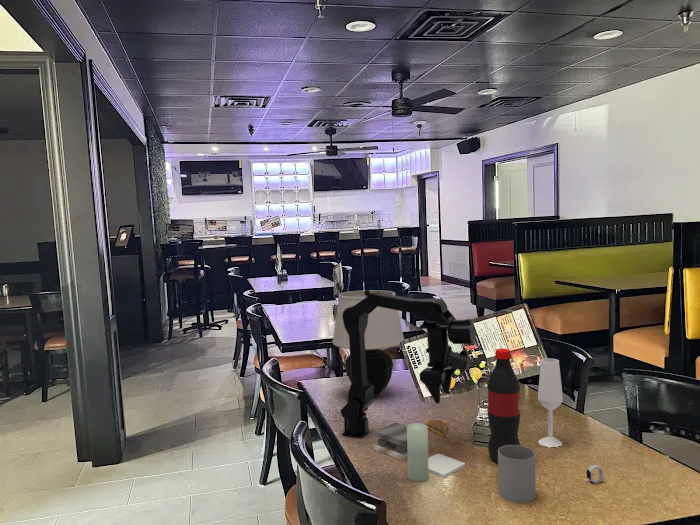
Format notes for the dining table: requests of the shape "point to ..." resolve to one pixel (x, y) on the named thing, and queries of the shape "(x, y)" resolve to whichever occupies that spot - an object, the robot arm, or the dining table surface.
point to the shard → (437, 426)
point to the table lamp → (371, 337)
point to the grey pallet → (392, 441)
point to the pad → (443, 465)
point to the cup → (516, 473)
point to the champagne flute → (550, 396)
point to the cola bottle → (503, 404)
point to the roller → (417, 452)
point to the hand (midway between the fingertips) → (442, 398)
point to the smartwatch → (590, 473)
